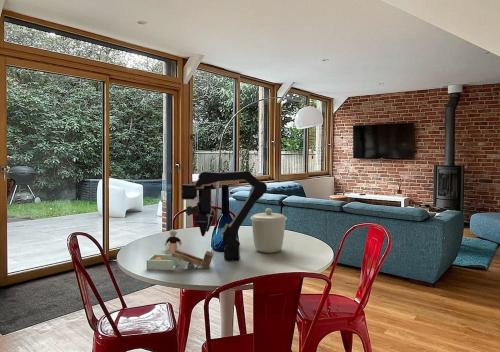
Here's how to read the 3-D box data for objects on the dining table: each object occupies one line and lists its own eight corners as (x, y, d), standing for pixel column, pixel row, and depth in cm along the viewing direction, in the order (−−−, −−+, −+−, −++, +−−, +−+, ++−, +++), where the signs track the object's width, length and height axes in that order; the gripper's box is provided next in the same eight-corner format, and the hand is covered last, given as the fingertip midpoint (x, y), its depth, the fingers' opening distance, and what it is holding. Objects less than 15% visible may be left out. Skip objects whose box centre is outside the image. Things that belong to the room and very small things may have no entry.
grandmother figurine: (165, 257, 171) (165, 230, 171) (164, 255, 175) (164, 228, 174) (182, 256, 174) (182, 229, 173) (181, 254, 177) (181, 228, 176)
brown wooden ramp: (209, 266, 160) (213, 252, 159) (207, 270, 154) (211, 256, 154) (174, 253, 160) (178, 240, 160) (171, 257, 155) (175, 243, 155)
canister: (243, 252, 181) (243, 209, 180) (260, 244, 197) (260, 204, 196) (277, 257, 173) (278, 212, 171) (292, 248, 189) (292, 207, 187)
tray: (178, 263, 162) (178, 254, 162) (172, 270, 154) (172, 260, 153) (153, 263, 163) (153, 254, 163) (146, 269, 154) (146, 260, 154)
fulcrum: (198, 265, 161) (198, 260, 160) (195, 270, 154) (195, 264, 154) (186, 264, 161) (186, 259, 161) (183, 269, 155) (183, 264, 154)
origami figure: (182, 252, 182) (182, 242, 181) (164, 253, 179) (164, 243, 179) (179, 245, 193) (179, 236, 193) (162, 247, 191) (162, 237, 190)
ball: (153, 258, 160) (158, 266, 160) (151, 261, 157) (155, 268, 157) (160, 254, 160) (165, 262, 160) (158, 257, 156) (162, 264, 156)
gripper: (191, 196, 176) (192, 229, 177) (181, 201, 158) (182, 238, 159) (215, 196, 175) (215, 229, 176) (207, 202, 157) (208, 238, 158)
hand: (205, 233), depth 167 cm, fingers open, 9 cm apart
